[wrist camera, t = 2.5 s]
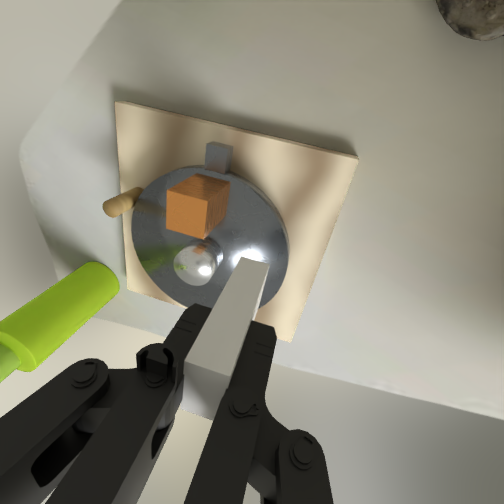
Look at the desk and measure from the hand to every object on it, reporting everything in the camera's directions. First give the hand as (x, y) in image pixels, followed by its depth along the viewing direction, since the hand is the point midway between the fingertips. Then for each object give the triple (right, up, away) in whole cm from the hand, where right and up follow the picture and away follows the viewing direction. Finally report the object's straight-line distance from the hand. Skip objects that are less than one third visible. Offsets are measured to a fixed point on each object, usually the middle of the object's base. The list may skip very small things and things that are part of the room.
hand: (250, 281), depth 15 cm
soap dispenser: (-21, -2, +25) cm, 32 cm away
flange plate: (-4, +3, +13) cm, 14 cm away
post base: (-3, +4, +16) cm, 17 cm away
